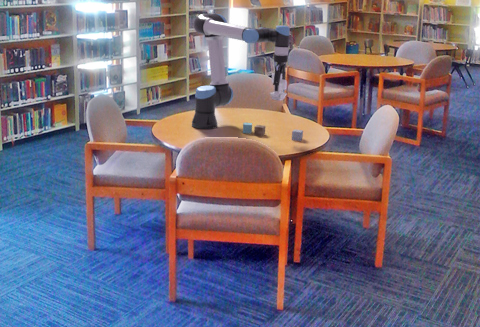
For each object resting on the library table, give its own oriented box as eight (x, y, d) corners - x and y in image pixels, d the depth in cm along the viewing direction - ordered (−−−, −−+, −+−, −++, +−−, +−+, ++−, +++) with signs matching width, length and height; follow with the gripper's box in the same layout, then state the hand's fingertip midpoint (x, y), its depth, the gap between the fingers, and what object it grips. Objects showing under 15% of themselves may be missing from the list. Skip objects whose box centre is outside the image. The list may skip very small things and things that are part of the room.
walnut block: (254, 135, 334) (254, 126, 332) (256, 133, 338) (257, 124, 337) (262, 136, 332) (262, 127, 331) (264, 134, 337) (265, 125, 336)
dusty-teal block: (242, 133, 337) (243, 124, 336) (243, 130, 342) (243, 122, 341) (251, 133, 337) (251, 125, 336) (251, 131, 342) (252, 123, 340)
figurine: (282, 101, 323) (283, 74, 319) (267, 99, 328) (269, 72, 324) (288, 100, 329) (290, 73, 324) (274, 97, 334) (275, 71, 329)
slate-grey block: (291, 140, 328) (292, 131, 326) (293, 137, 332) (294, 129, 331) (300, 141, 326) (301, 132, 325) (302, 139, 331) (303, 130, 329)
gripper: (282, 57, 310) (279, 99, 317) (292, 53, 330) (289, 93, 336) (269, 56, 312) (266, 98, 319) (279, 52, 332) (276, 91, 339)
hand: (278, 95), depth 328 cm, fingers closed on figurine, 8 cm apart
